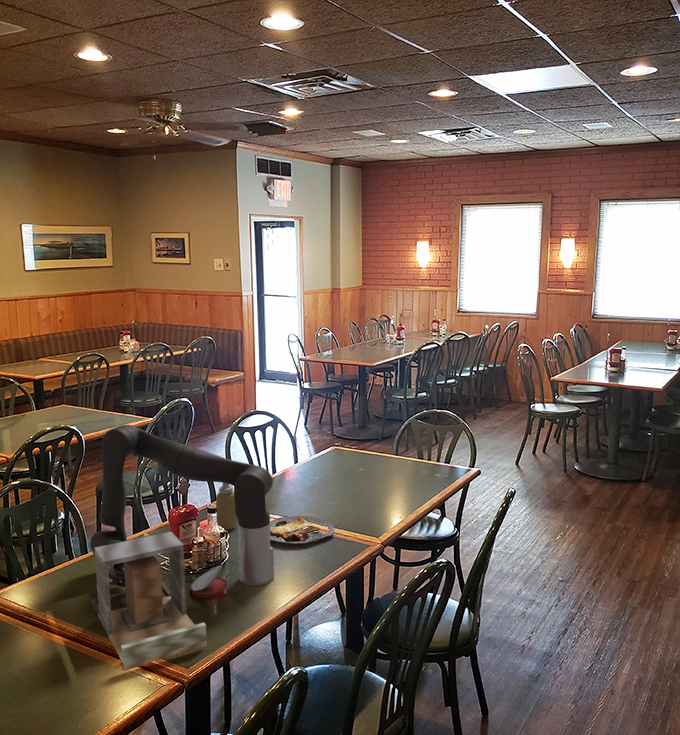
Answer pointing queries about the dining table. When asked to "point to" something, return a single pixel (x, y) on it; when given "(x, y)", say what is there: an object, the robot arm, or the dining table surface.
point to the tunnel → (179, 629)
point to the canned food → (210, 585)
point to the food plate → (296, 529)
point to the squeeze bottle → (226, 507)
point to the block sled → (143, 594)
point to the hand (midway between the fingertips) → (139, 586)
